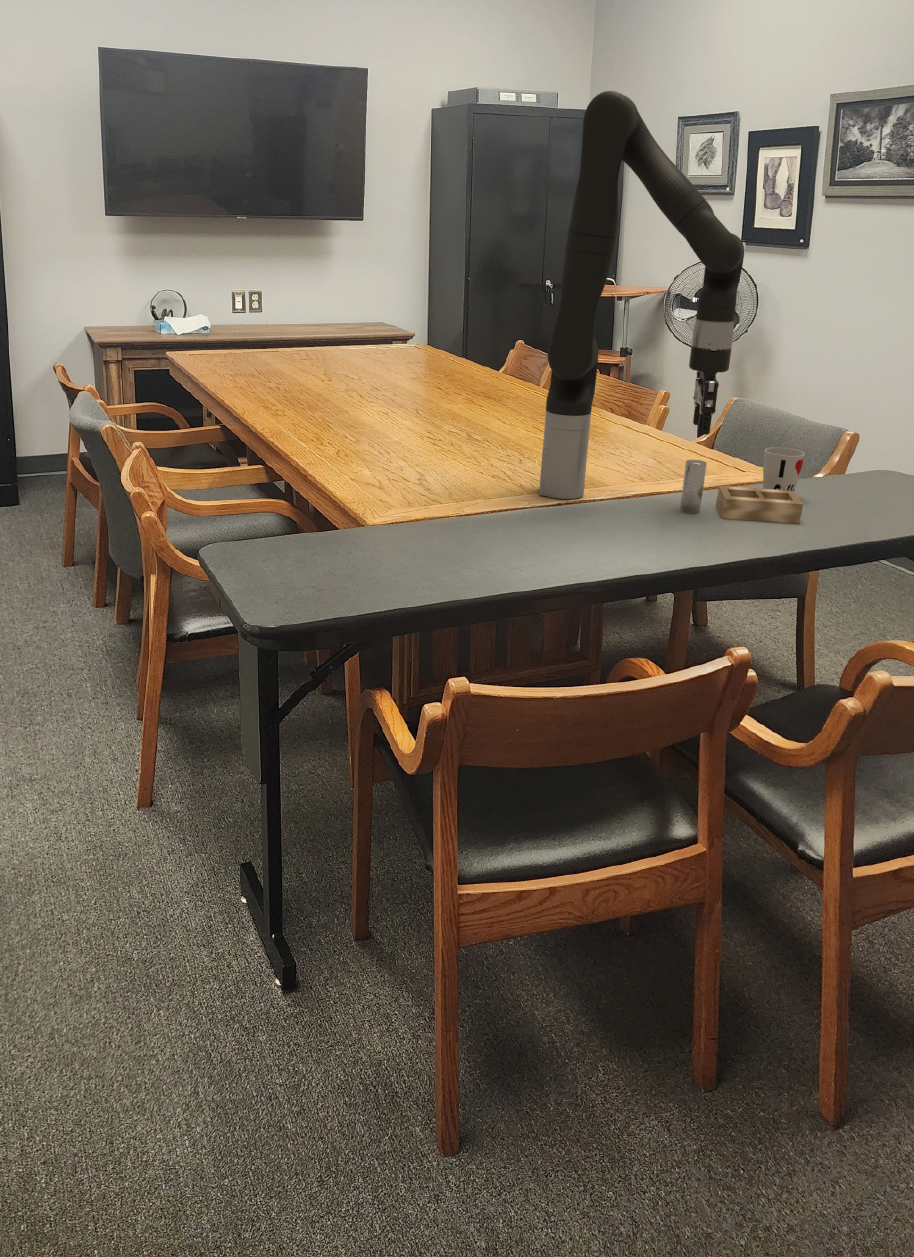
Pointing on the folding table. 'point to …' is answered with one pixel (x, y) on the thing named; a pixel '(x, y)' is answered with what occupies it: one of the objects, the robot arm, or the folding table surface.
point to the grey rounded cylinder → (693, 486)
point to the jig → (759, 504)
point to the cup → (782, 468)
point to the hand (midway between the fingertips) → (700, 429)
